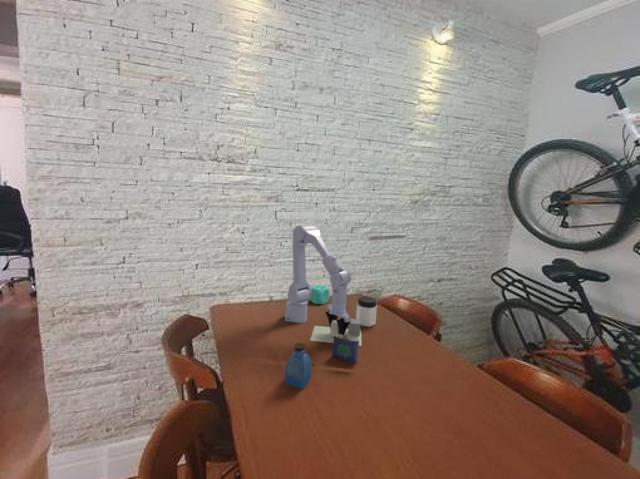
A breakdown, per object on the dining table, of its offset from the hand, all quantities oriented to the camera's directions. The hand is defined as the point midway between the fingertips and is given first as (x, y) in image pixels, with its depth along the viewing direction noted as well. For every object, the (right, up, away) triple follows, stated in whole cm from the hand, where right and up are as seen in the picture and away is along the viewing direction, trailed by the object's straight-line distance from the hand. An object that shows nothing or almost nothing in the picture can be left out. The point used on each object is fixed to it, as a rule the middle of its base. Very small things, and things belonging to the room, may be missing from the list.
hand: (336, 332), depth 134 cm
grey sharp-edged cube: (+7, -1, +4) cm, 9 cm away
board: (0, -3, +1) cm, 3 cm away
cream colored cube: (0, -1, 0) cm, 1 cm away
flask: (+2, -6, -17) cm, 18 cm away
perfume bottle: (-14, -7, -30) cm, 34 cm away
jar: (+14, -1, +16) cm, 21 cm away
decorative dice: (-7, +4, +42) cm, 43 cm away
